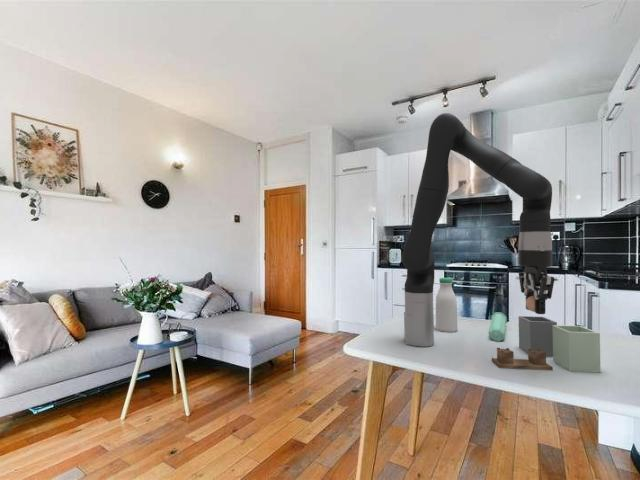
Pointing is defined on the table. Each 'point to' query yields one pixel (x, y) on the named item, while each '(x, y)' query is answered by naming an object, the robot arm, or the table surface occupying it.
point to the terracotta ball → (531, 303)
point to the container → (497, 326)
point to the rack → (522, 360)
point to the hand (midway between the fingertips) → (535, 311)
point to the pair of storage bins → (561, 343)
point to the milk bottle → (446, 307)
